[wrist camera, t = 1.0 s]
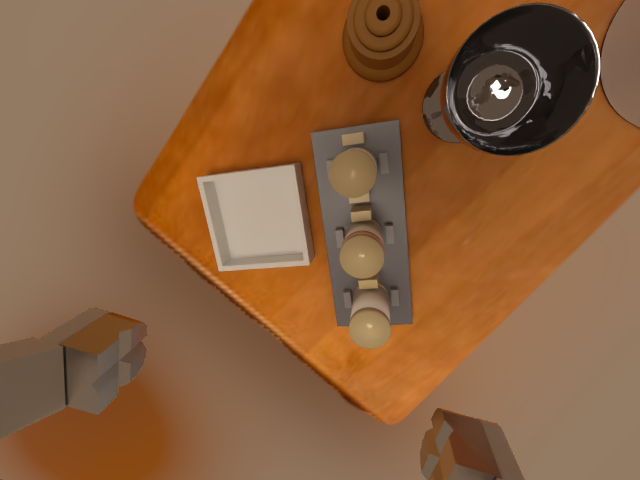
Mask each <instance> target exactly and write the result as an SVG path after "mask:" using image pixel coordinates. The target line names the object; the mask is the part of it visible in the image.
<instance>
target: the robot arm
mask: <svg viewBox="0 0 640 480" xmlns="http://www.w3.org/2000/svg"><path fill="white" fill-rule="evenodd" d="M600 67H601V80H602V85H603V88H604V91H605V94H606V96H607V98H608V100H609V102H610V104H611V105H612V107H613V108H614V109H615V110H616V111H617V112H618V114H619V115H621V116H622V117H623V118H624V119H626V120H627V121H628V122H630V123H632V124H634V125H636V126H637V127H639V128H640V0H625V1H624V3H623V4H622V6H621V7H620V9H619V10H618V12H617V13H616V15H615V17H614V19H613V21H612V23H611V25H610V27H609V30H608V32H607V35H606V38H605V41H604V45H603V49H602V54H601V66H600ZM146 336H147V325H146V324H145V323H143V322H141V321H138V320H134V319H131V318H128V317H125V316H122V315H119V314H116V313H111V312H108V311H105V310H102V309H99V308H89V309H88V310H86V311H84V312H83V313H81V314H79V315H78V316H76V317H74V318H72V319H71V320H69V321H67V322H66V323H64V324H63V325H61V326H59V327H57V328H56V329H54V330H52V331H51V332H49V333H47V334H46V335H44V336H42V337H41V338H39V339H37V338H34V337H32V338H28V339H23V340H19V341H15V342H10V343H6V344H1V345H0V439H1V438H4V437H6V436H8V435H10V434H12V433H14V432H16V431H18V430H20V429H22V428H25V427H27V426H29V425H31V424H33V423H35V422H37V421H39V420H41V419H43V418H46V417H48V416H50V415H52V414H54V413H56V412H58V411H60V410H62V409H64V408H66V406H68V407H72V408H75V409H79V410H83V411H86V412H90V413H93V414H96V415H98V414H99V413H100V412H101V411H102V410H103V409H104V408H105V407H106V406H107V405H108V404H109V403H110V402H111V401H112V400H113V399H114V398H115V397H116V396H117V395H118V387H120V386H123V385H125V384H128V383H130V382H131V381H132V380H133V379H134V378H135V377H136V376H137V375H138V373H139V371H140V370H141V368H142V366H143V364H144V360H145V357H146V348H145V346H144V344H143V342H142V340H143V339H144V338H145V337H146ZM431 420H432V425H433V428H432V429H430V430H428V431H426V433H425V435H424V438H423V440H422V445H421V451H420V464H421V471H422V474H423V475H424V477H425V478H426V479H427V480H524V477H523V475H522V473H521V471H520V468H519V466H518V464H517V462H516V460H515V457H514V455H513V453H512V450H511V448H510V446H509V444H508V441H507V439H506V437H505V435H504V432H503V430H502V428H501V427H500V426H499V425H498V424H497V423H493V422H489V421H485V420H482V419H476V418H472V417H469V416H465V415H462V414H458V413H454V412H451V411H448V410H444V409H441V408H437V409H436V411H435V412H434V414H433V416H432V418H431ZM0 480H1V479H0Z"/></svg>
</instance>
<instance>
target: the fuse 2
mask: <svg viewBox="0 0 640 480" xmlns="http://www.w3.org/2000/svg"><path fill="white" fill-rule="evenodd" d="M349 334H350V337H351V339H352V340H353V341H354V342H355V343H356V344H357V345H359V346H361V347H363V348H368V349H374V348H379V347H381V346H383V345H384V344H385V343H386V342H387V341H388V340H389V338H390V334H391V328H390V311H389V294H388V290H387V288H386V287H385V286H384V285H383V284H382V283H381V282H379V281H378V288H374V289H359V285H358V286H357V287H356V289H355V292H354V298H353V304H352V311H351V317H350V324H349Z"/></svg>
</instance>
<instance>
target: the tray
mask: <svg viewBox="0 0 640 480" xmlns="http://www.w3.org/2000/svg"><path fill="white" fill-rule="evenodd" d="M197 182H198V186H199V190H200V194H201V198H202V202H203V207H204V211H205V215H206V219H207V223H208V227H209V231H210V236H211V240H212V244H213V248H214V252H215V256H216V261H217V265H218V269H219V271H231V270H245V269H260V268H274V267H289V266H303V265H310V264H311V262H312V260H313V258H314V256H315V255H314V248H313V242H312V235H311V228H310V222H309V215H308V209H307V202H306V195H305V189H304V182H303V176H302V169H301V162H299V163H291V164H284V165H276V166H269V167H261V168H254V169H246V170H239V171H231V172H224V173H216V174H209V175H205V176H201V177H197Z"/></svg>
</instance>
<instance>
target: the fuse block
mask: <svg viewBox="0 0 640 480" xmlns="http://www.w3.org/2000/svg"><path fill="white" fill-rule="evenodd" d="M311 139H312V146H313V154H314V161H315V168H316V175H317V182H318V189H319V197H320V204H321V211H322V218H323V225H324V232H325V240H326V247H327V254H328V261H329V268H330V275H331V283H332V290H333V297H334V304H335V311H336V318H337V326H349V324H350V317H351V311H352V304H353V298H354V292H355V289H356V287H357V286H358V285H359V289H374V288H378V281H379V282H381V283H382V284H383V285H384V286H385V287H386V288H387V290H388V294H389V311H390V325H398V324H413V321H412V306H411V291H410V276H409V261H408V246H407V231H406V216H405V201H404V186H403V171H402V157H401V142H400V127H399V120H392V121H385V122H379V123H372V124H366V125H359V126H352V127H346V128H339V129H332V130H326V131H319V132H313V133H311ZM357 146H360V147H365V148H367V149H369V150H370V151H371V152H372V153H373V154H374V156H375V158H376V161H377V176H376V181H375V184H374V186H373V187H372V189H371V190H370V191H369V192H368V193H367V194H365V195H363V196H361V197H358V198H347V197H344V196H342V195H340V194H338V193H337V192H336V191H335V190H334V189H333V187H332V185H331V183H330V180H329V168H330V165H331V163H332V161H333V160H334V159H335V157H336V156H337V155H339V154H340V153H342V152H344V151H346V150H348V149H350V148H352V147H357ZM371 219H374V220H376V221H377V222H378V223H379V224H380V225H381V227H382V230H383V242H384V252H385V255H384V263H383V266H382V268H381V270H380V271H379V272H378V273H377V274H376V275H374V276H372V277H370V278H364V279H360V278H355V277H353V276H351V275H349V274H348V273H346V272H345V270H344V269H343V268H342V266H341V263H340V251H341V246H342V244H343V241H344V239H345V236H346V233H347V230H348V227H349V225H350V224H351V223H352V222H358V221H368V220H371Z"/></svg>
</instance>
